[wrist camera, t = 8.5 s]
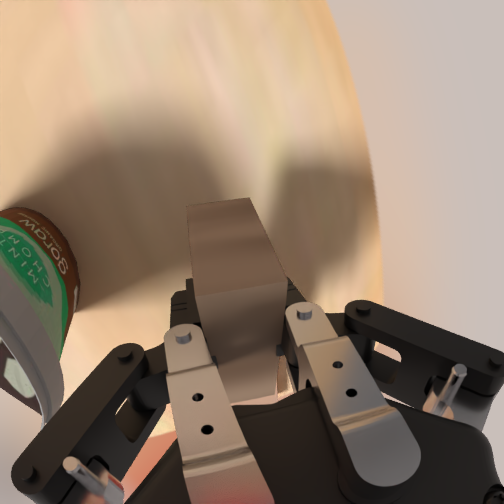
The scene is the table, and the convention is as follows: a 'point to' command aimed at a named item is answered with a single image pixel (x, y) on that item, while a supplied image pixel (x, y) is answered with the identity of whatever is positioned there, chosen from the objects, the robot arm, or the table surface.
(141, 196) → the table surface
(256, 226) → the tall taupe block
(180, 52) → the table surface
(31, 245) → the food container
